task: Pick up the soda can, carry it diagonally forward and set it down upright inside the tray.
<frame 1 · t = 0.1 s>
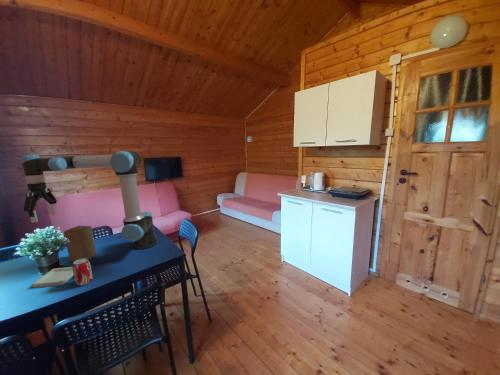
hand: (44, 218, 126), 28 cm above the table, fingers open, 13 cm apart
soda can: (85, 282, 109), on the table
tray: (58, 277, 114), on the table
block: (84, 258, 134), on the table
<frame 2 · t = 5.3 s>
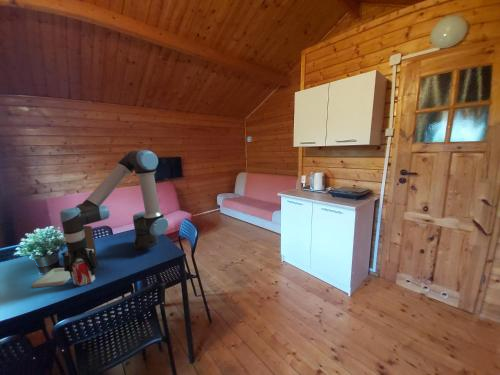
hand: (84, 281, 109), 1 cm above the table, fingers closed on soda can, 7 cm apart
soda can: (84, 282, 109), on the table, touching gripper
everything else where it was.
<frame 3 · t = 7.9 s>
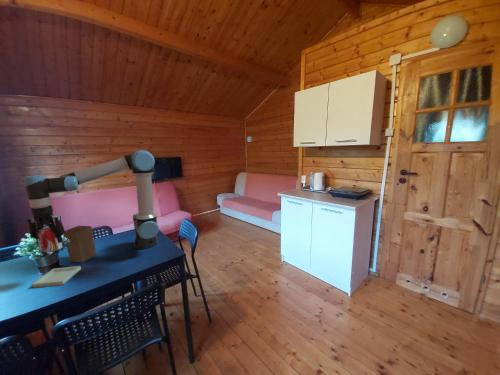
hand: (51, 248, 111), 17 cm above the table, fingers closed on soda can, 7 cm apart
soda can: (51, 250, 111), point 16 cm above the table, touching gripper
everything else where it was.
when the fingers open (3 cm above the table, at t = 11.0 s): soda can drops 2 cm, resting on tray.
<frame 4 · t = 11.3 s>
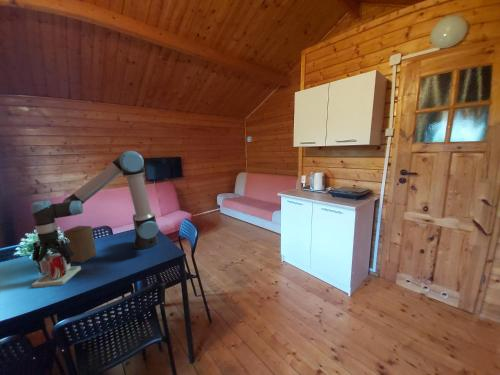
hand: (56, 270, 113), 4 cm above the table, fingers open, 10 cm apart
soda can: (58, 276, 114), point 1 cm above the table, touching tray
everything else where it was.
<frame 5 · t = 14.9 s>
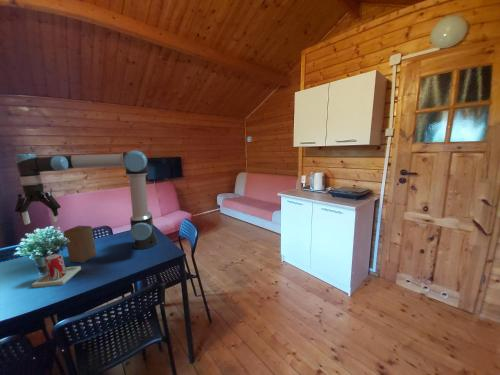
hand: (41, 222, 115), 29 cm above the table, fingers open, 13 cm apart
nothing on the table moved.
at the end: soda can inside the target area on the tray (0.1 cm from its centre), point 0.4 cm above the tray's base; soda can tilted 1°; the gripper is holding nothing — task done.
